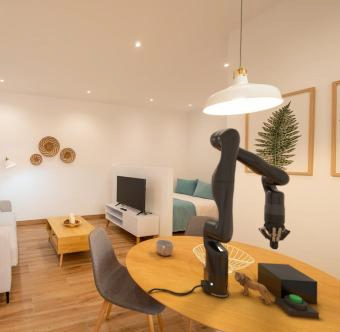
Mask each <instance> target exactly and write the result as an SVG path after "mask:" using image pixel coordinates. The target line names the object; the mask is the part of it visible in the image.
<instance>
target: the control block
mask: <svg viewBox="0 0 340 332" xmlns="http://www.w3.org/2000/svg"><path fill="white" fill-rule="evenodd" d="M274 303H275V304H276V305H277V307H279V308H280V309H281V310H282V311H283V312H284V313H285V314H286V315H288V316H289V317H296V318H297V317H298V318H307V319H308V318H309V319H319V318H320V312H318V311H317V310H316V309H314V308H313V306H311V305H310V304H307V302H305V301H304V300H302V304H298V303H294V302H292V301H291V300H290V296H289V295H287V296H285V298H276V297H274Z"/></svg>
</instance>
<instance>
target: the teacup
mask: <svg viewBox="0 0 340 332" xmlns="http://www.w3.org/2000/svg"><path fill="white" fill-rule="evenodd" d="M155 243H156V244H155V250H156V252H157V253H158V254H159V255H161V256H164V257H169V256H170V255H172V254H173V253H174V245H175V244H174V242H173V241H171V240H168V239H161V238H159V239H156V241H155Z"/></svg>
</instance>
